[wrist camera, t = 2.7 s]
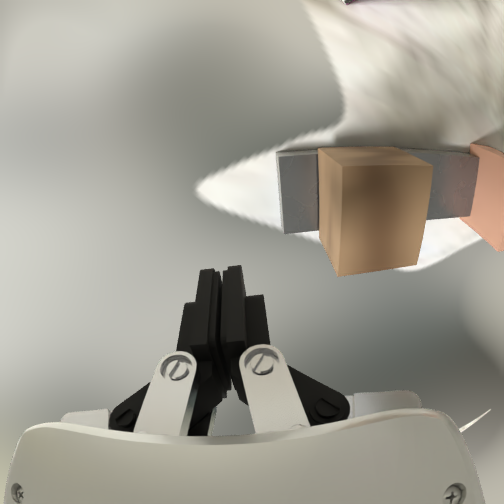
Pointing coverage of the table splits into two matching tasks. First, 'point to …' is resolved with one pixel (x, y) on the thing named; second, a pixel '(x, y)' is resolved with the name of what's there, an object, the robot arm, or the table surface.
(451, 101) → the table surface
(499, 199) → the block
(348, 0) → the candy bar box
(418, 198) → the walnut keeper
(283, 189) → the metal rail
